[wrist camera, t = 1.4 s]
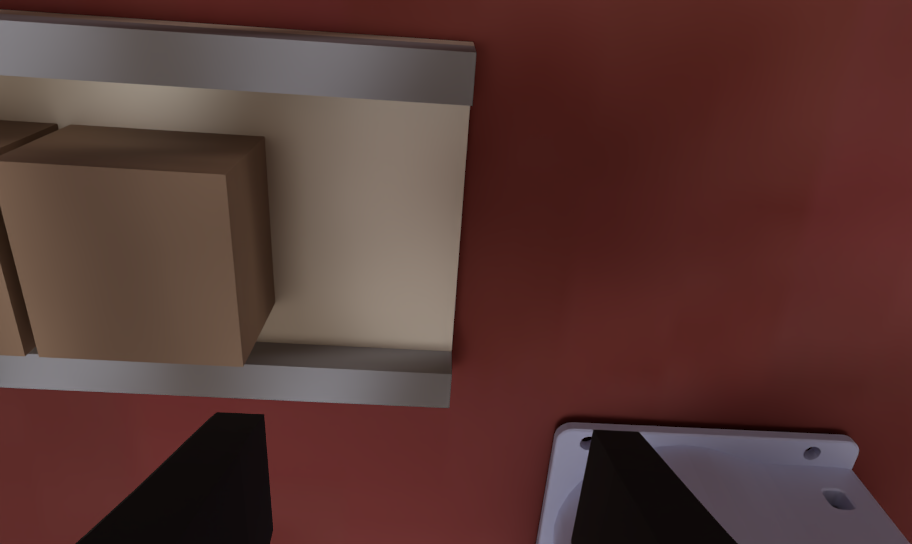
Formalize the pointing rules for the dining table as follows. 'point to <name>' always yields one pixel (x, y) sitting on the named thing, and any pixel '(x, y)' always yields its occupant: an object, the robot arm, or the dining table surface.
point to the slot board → (284, 190)
